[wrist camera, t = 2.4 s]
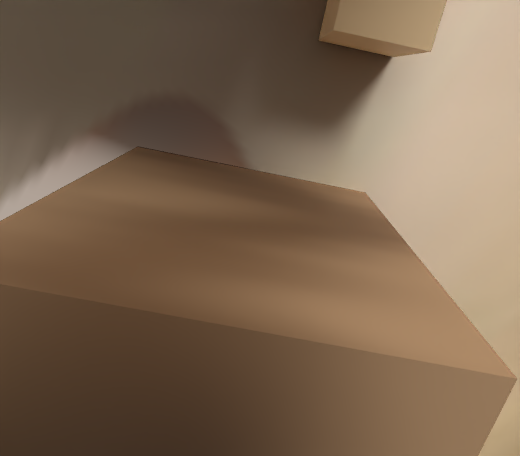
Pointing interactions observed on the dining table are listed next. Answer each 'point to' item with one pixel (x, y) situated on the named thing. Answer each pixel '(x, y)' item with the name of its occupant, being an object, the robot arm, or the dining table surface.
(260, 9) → the dining table surface
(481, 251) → the dining table surface
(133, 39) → the dining table surface
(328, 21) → the grey toy bench
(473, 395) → the cabinet block
